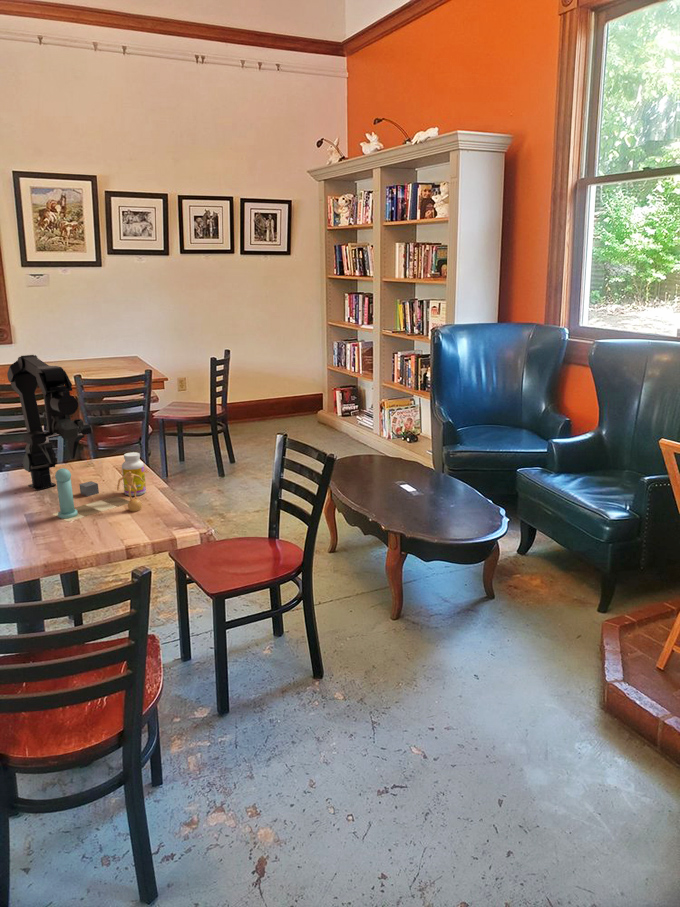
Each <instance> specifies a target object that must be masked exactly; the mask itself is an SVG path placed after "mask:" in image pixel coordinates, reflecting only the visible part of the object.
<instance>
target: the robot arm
mask: <svg viewBox="0 0 680 907" xmlns="http://www.w3.org/2000/svg"><path fill="white" fill-rule="evenodd" d="M6 377H7V379H8V382H9V383H10V386H11V389H13V391H14V392H15V393H16V394H18V395H19V396H18V397H19V401H20V404H21V411H22V414H23V419H24V424H25V428H26V432H25V434H24V435H23V441H24V442H23V443H25V444H26V446H25V454H24V457H23V460H22V465H23V470H25V471H26V472H28V473H30V476H31V483H30V484H28V485H27V486H28V487H29V488H31V489H33V490H35V491H40V490H43V489H47V488H51V487H55V486H56V487H57V483H54V482H52V478H51V470H50V469H52V468H56V465H57V464H56V462H57V461H56V460H57V457H56V456H57V453H56V452H55V450H54V449H53V443H52V442H51V441H50V439H52V438H53V439H54V438H57V437H61V439H63V440H67V444H68V449H69V455H70V459H74V460H75V457H76V454H77V449H78V446H79V443H80V441H81V440H82V439H83V438H85V437H86V436H85V435H90V434H93V432H94V431H93V427H92V425H91V424H90V423H86V422H84V420H83V418H77V419H73V420H72V419H71V415H73V414H75V413H76V412H77V410H78V408H79V402H78V400H77V399H76V397H75V396H73V395H71V392H72V391H73V384H72V382H71V380H70V376H68V374H67V372H66V370H64V368H63V367H62V366H59V365H49V364H47V363H45V362H44V361H43V360H41V359H40V358H39V357H38V356H37V355H34V354H25V355H20V356H18V358H17V360H16V361H14V362H13V363H12V364H10V365H9V367H8V370H7V376H6ZM38 386H39V388H40V390H41V393H42V394H43V402H44V410H45V411H44V412H45V413H43V417H44V418H46V425H47V426H46V427H45V431H46V432H44V430H43V427H42V421H41V416H40V412H39V411H40V410H39V408H38V407H39V406H38V401H37V398H36V397H37V396H36V390H37V387H38Z"/></svg>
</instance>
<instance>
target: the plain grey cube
mask: <svg viewBox="0 0 680 907" xmlns="http://www.w3.org/2000/svg"><path fill="white" fill-rule="evenodd" d="M79 492H80V493H79V494H80V495H81V496H85V497H87V498H88V497H91V496H95V495H98V494H100V490H99V483H97V482H95V481H92V480H91V481H87V482H83V483H79Z"/></svg>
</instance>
